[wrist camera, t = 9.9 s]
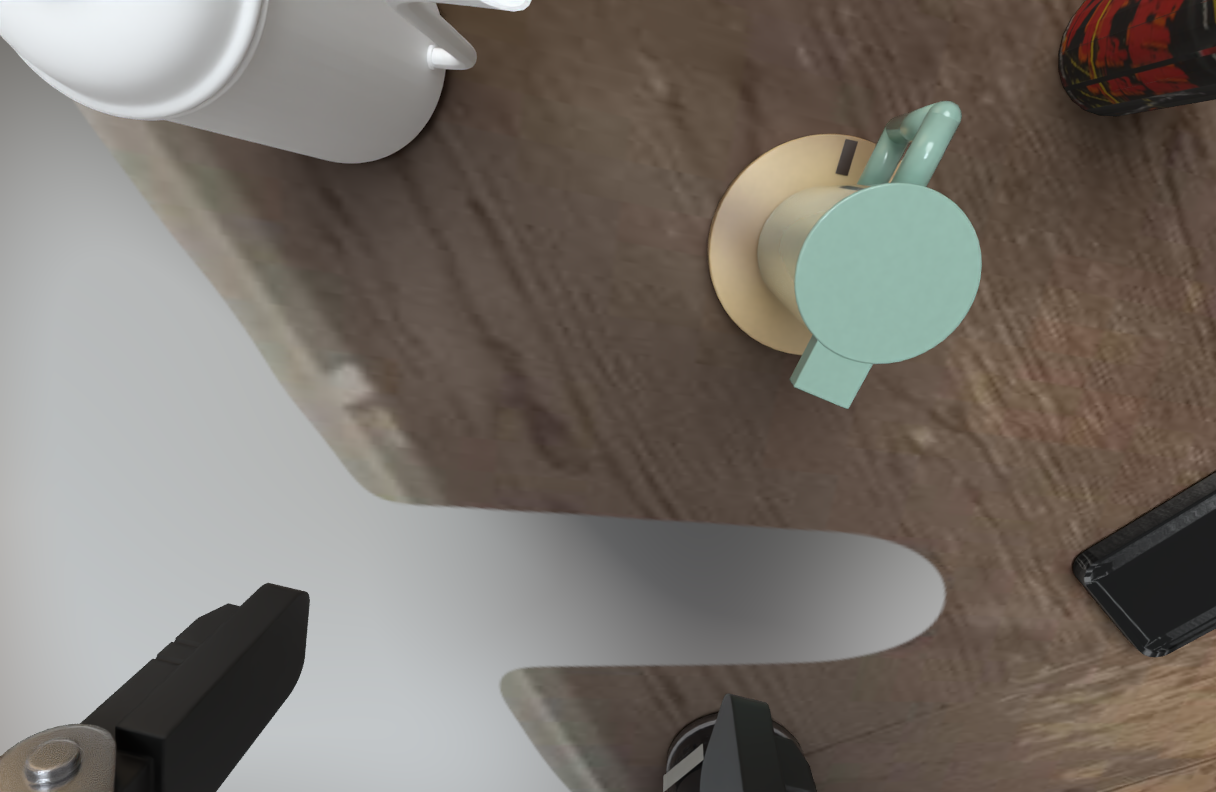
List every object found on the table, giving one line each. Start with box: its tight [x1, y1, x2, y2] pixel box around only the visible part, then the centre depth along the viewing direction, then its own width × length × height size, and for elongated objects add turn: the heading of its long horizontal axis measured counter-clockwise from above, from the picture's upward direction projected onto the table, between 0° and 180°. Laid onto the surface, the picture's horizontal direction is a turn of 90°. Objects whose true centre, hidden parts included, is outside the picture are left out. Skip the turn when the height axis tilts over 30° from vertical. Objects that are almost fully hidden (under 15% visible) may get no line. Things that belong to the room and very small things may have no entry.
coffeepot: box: [0, 0, 531, 163], centre depth 25 cm, size 11×25×19 cm, turn 82°
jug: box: [757, 101, 982, 409], centre depth 28 cm, size 11×6×11 cm, turn 158°
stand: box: [707, 134, 901, 355], centre depth 34 cm, size 11×11×2 cm
